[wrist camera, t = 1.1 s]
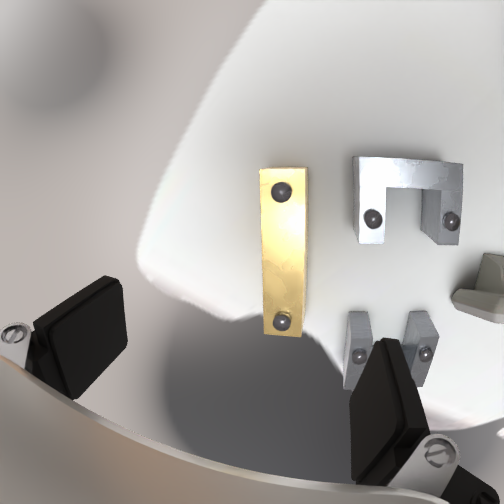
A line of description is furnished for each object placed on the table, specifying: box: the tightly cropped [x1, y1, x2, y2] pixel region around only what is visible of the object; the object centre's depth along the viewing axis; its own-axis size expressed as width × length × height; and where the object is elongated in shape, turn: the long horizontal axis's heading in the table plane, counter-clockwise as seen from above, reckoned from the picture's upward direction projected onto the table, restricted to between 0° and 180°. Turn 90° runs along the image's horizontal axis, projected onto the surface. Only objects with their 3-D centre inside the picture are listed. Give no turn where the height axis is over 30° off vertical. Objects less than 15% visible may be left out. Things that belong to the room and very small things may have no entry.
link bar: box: [259, 167, 308, 337], centre depth 29 cm, size 4×17×6 cm, turn 2°
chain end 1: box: [353, 157, 463, 245], centre depth 24 cm, size 10×8×6 cm
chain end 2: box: [343, 311, 439, 390], centre depth 30 cm, size 10×8×6 cm
